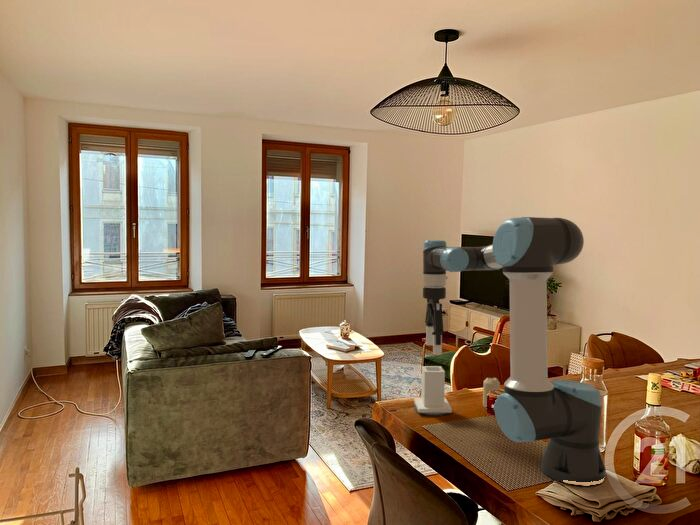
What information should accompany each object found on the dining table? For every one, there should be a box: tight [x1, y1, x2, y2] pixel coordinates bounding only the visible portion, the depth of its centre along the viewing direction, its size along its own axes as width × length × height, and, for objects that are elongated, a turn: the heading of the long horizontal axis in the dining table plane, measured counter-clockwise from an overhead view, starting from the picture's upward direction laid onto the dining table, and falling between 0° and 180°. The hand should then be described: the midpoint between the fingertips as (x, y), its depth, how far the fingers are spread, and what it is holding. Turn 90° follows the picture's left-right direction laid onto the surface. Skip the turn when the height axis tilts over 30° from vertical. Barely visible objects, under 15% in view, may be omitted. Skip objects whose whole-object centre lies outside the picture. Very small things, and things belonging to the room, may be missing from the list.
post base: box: [413, 404, 449, 417], centre depth 178 cm, size 12×12×8 cm
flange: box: [413, 365, 453, 414], centre depth 178 cm, size 11×11×13 cm
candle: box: [482, 377, 501, 409], centre depth 182 cm, size 6×6×10 cm
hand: (433, 349), depth 177 cm, fingers open, 13 cm apart
